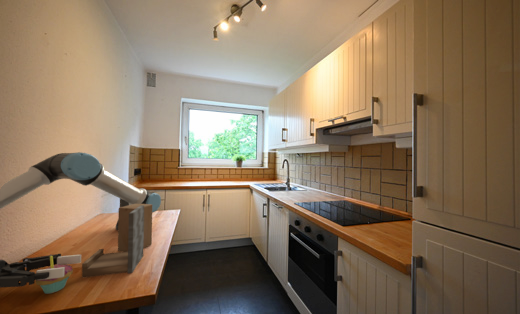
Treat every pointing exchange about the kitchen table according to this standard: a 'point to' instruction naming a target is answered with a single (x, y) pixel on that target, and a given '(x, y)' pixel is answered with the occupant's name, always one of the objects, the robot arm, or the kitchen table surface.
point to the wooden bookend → (119, 260)
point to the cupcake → (55, 283)
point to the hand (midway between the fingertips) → (72, 264)
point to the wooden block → (124, 225)
